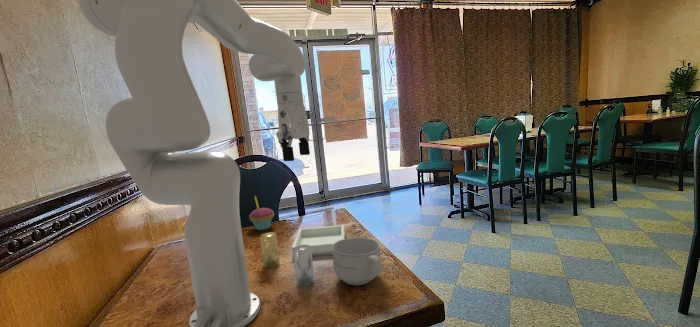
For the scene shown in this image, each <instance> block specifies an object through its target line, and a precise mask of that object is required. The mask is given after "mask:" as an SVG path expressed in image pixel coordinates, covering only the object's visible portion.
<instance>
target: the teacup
mask: <svg viewBox="0 0 700 327" xmlns="http://www.w3.org/2000/svg"><path fill="white" fill-rule="evenodd" d="M381 247H382V246H381V243H380V242H379V241H378V240H376V239H373V238H369V237H359V236H357V237H356V236H355V237H348V238H346V237H345V239H343V240H339V241H337V242H335V243H334V244H333V245H332V251H333V255H332V262H333V270H334V273H335V275H336V276H337V277H338V278H339V280H341V281H343V282H344V283H345V284H347V285H351V286H361V285H367V284H369V283H370V282H371V281H373V280H374V279H375V278H377V277H378V276H380V275H381V274H382V271H383V264H382V261H381Z"/></svg>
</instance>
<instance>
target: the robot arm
mask: <svg viewBox="0 0 700 327" xmlns="http://www.w3.org/2000/svg"><path fill="white" fill-rule="evenodd" d="M77 1H78V5H79V6H78V7H79V9H80V10H81V13H82V14H83V16H84V17H85V19H86V20H87V22H89V23H90V24H91V25H92V27H94V28H95V29H96V30H98V31H100V32H101V33H103V34H105V35H107V36H111V37H115V39H114V55H115V60H116V64H117V68H118V70H119V72H120V75H121V77H122V79H123V81H124V83H125V85H126V87H127V91H128V92H129V94H130V97H128V98H125V99H121V100H120V101H118V102H116V103H114V104H113V106H111V108H110V109H109V110H108V112H107V115H106V119H105V129H106V135H107V136H106V137H107V138H108V140H109V144H110V145H111V147H112V148H113V150H114V152H115V154H116V155H117V157H118V158H119V160H120V162H121V163H122V165H123V167H124V168H125V169H126V171H127V173H128V175H129V176H130V178H131V179H132V181H133V183H134V184H135V186H136V187H137V189H138V190H139V191H140V192H141V194H142V195H143V196H144V197H145V198H146V199H148V200H149V201H150V202H152V203H155V204H158V205H161V206H162V205H164V206H190V211H189V214H188V216H187V219H186V222H185V226H184V230H183V231H184V233H183V234H184V240H185V246H186V247H185V248H186V252H187V259H188V264H189V265H188V266H189V271H190V276H191V283H192V288H193V289H192V290H193V295H194V296H193V297H194V301H195V307H196V309H195V310H194V311H193V312H192V314H191V315H190V317H189V319H188V320H189V321H188V325H189V327H245V326H247V325H248V324H249V323H250V322H252V321H254V319H255V318H256V316H257V315H258V314H259V312H260V309H261V301H260V298H259V296H258V295H256V294H254V293H253V292H251V290H250V282H249V275H248V268H247V261H246V252H245V246H244V245H245V244H244V237H243V232H242V225H241V224H242V223H241V217H240V215H241V214H240V213H241V211H240V187H241V171H240V168H239V165H238V164H237V162H236V160H235V159H234V158H232V157H231V156H230V155H228V154H226V153H223V152H219V151H218V152H217V151H192V152H187V151H191V150H196V149H198V148H201V147H202V146H204V145H205V144H206V143H207V142H208V140H209V138H210V136H211V126H210V122H209V118H208V117H207V114H206V111H205V108H204V106H203V104H202V101H201V99H200V97H199V95H198V92H197V90H196V88H195V87H196V86H194V83H193V81H192V78H191V76H190V73H189V71H188V68H187V66H186V63H185V59H184V54H183V40H184V39H183V38H184V34H185V30H186V28H187V26H188V24H190V23H194V24H197V25H198V26H200V27H201V28H202V29H203V30H204V31H206V32H207V33H208V34H210V35H211V36H212V37H213V38H215V39H216V41H218V42H219V43H220V44H221V45H222V46H224V47H225V48H226V49H228V50H230V51H233V52H235V53H237V52H238V53H242V54H249V55H252V56H250V58H249V61H248V68H249V72H250V73H251V75H252V77H254V79H256V80H258V81H260V82H274V88H275V95H276V96H275V97H276V102H277V120H278V121H277V122H278V123H277V124H278V129H277V132H276V133H275V136H276V137H277V140H278V144H280V148H281V149H282V150H281V151H282V152H281V153H282V159H283V161H284V162H293V161H295V156H294V147H293V146H292V143H293V141H294V140H298V149H299V155H300V156H309V155H311V152H310V144H309V141H310V138H309V136H310V127H309V126H310V125H309V122H308V121H309V120H308V115H307V110H306V107H305V103H304V94H303V86H302V78H301V76H302V75H303V74H304V72H305V70H306V59H305V56H304V54H303V52H302V50H301V49H300V47H299V46H298V45H297V43H296V42H295V41H294V39H293V38H292V37H291V36H290V35H289V34H288V33H287V32H285V31H284V30H282V29H280V28H278V27H276V26H273V25H271V24H269V23H266V22H264V21H262V20H259V19H257V18H253V17H252V16H251V15H250V14H249V13H248V12H247V10H245V8H244V7H243V6H242V5H241V4H240V3H239V2H238V1H237V0H77ZM176 152H177V153H176ZM178 152H179V153H178ZM180 152H182V153H180Z"/></svg>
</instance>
